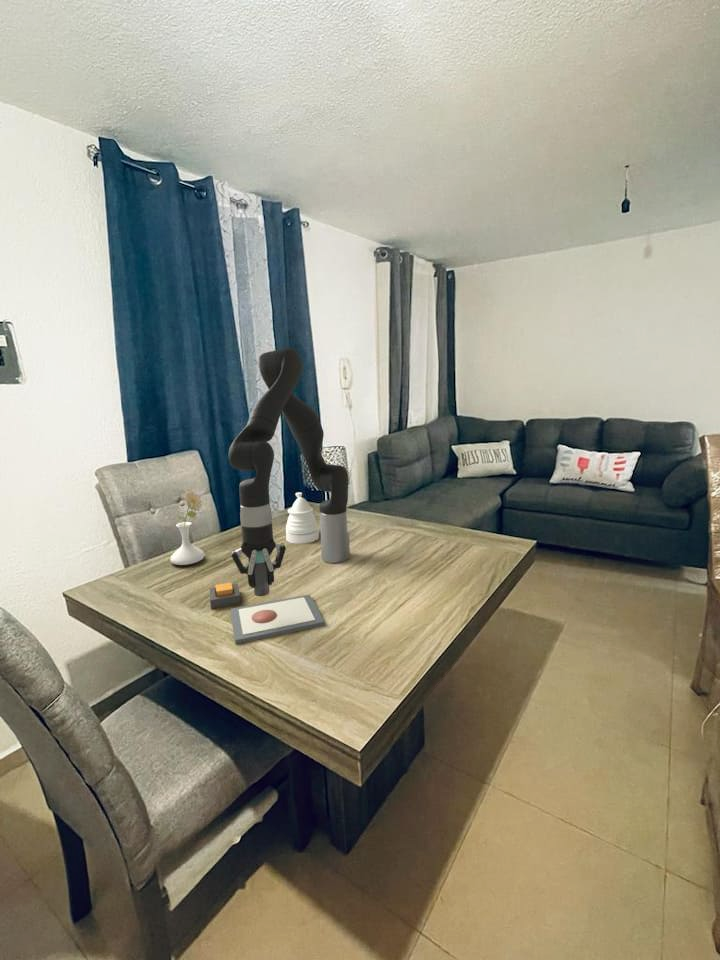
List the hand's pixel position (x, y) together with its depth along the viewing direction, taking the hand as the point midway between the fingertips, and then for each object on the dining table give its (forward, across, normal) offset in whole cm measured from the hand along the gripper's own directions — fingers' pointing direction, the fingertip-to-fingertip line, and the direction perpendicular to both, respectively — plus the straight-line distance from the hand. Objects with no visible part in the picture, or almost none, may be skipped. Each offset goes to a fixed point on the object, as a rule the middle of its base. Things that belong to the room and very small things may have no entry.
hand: (261, 584), depth 113 cm
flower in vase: (+10, +19, -51) cm, 55 cm away
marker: (+2, 0, 0) cm, 2 cm away
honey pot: (+10, -23, -58) cm, 63 cm away
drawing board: (+10, -3, 0) cm, 11 cm away
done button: (+8, +9, -16) cm, 20 cm away
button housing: (+10, +9, -16) cm, 21 cm away
